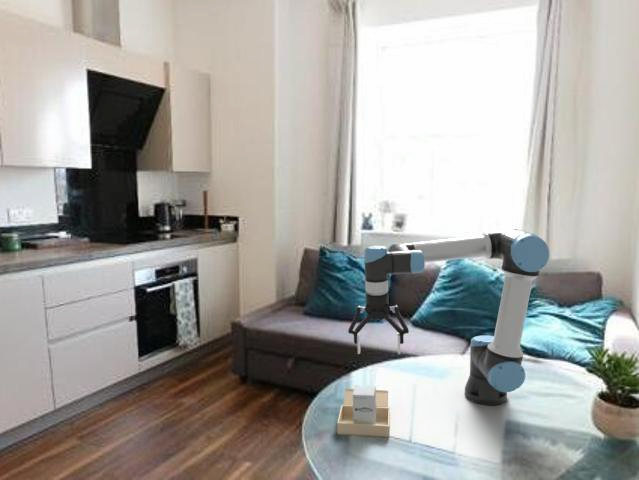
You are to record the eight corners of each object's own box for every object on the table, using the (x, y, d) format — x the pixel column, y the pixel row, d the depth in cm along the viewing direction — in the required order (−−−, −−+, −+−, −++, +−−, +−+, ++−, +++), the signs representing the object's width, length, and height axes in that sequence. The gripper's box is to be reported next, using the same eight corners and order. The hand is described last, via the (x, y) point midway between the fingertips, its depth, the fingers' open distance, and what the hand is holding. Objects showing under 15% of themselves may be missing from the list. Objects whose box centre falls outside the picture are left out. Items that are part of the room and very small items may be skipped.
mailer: (389, 418, 167) (389, 407, 166) (389, 437, 155) (389, 426, 155) (341, 415, 170) (341, 404, 169) (337, 434, 158) (337, 423, 157)
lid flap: (387, 406, 167) (387, 407, 167) (388, 390, 174) (388, 391, 174) (343, 404, 169) (343, 405, 170) (345, 388, 176) (345, 389, 177)
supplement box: (353, 429, 160) (351, 394, 158) (355, 418, 167) (354, 384, 165) (375, 431, 158) (374, 395, 156) (377, 419, 165) (375, 385, 163)
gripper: (414, 288, 161) (415, 348, 165) (340, 289, 165) (343, 348, 168) (415, 294, 154) (416, 357, 158) (338, 295, 158) (341, 356, 161)
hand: (379, 352), depth 163 cm, fingers open, 13 cm apart
